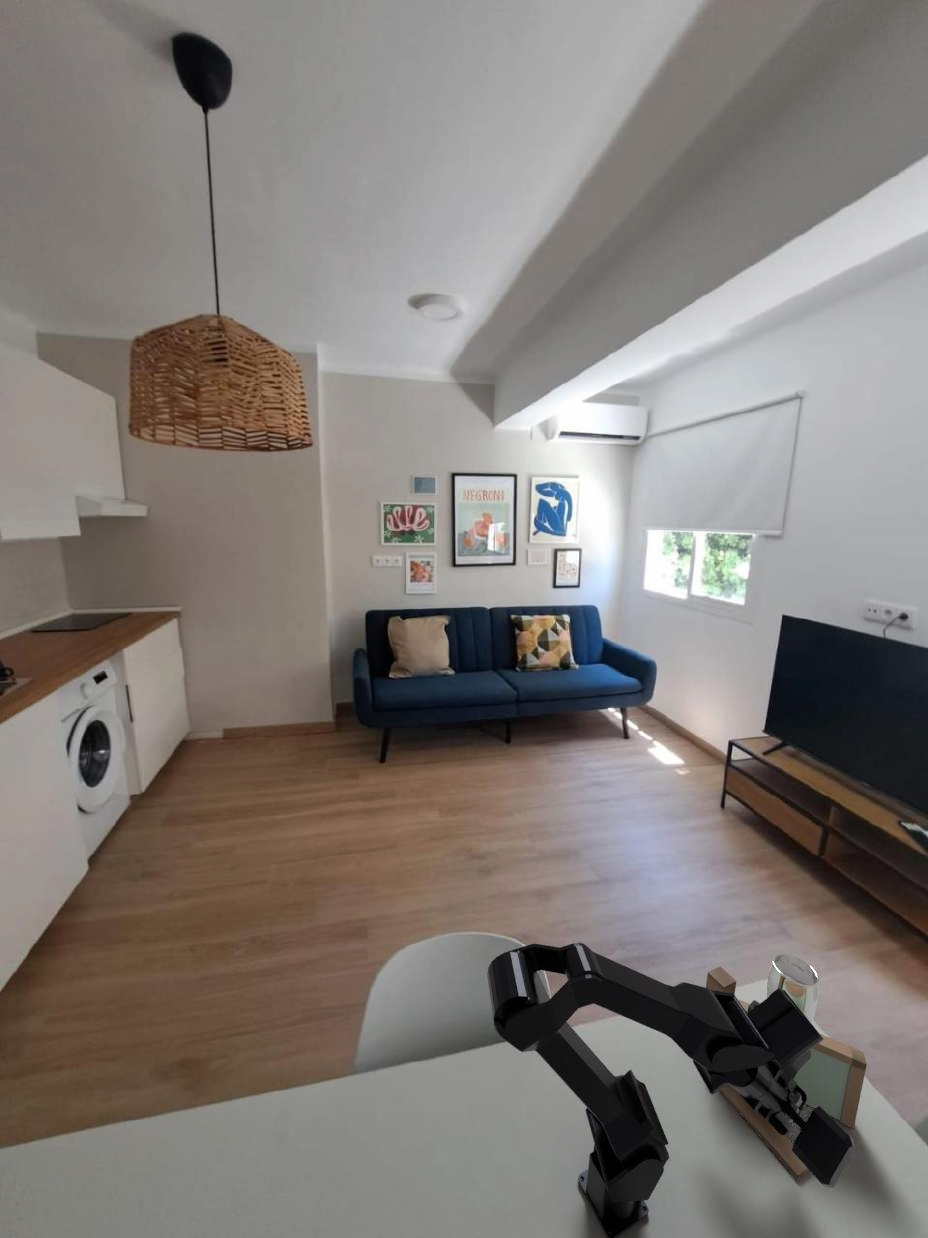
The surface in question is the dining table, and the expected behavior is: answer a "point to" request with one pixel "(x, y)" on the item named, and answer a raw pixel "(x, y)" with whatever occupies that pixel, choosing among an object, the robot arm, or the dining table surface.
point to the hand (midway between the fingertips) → (785, 1102)
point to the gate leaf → (832, 1078)
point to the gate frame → (763, 1128)
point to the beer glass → (795, 981)
